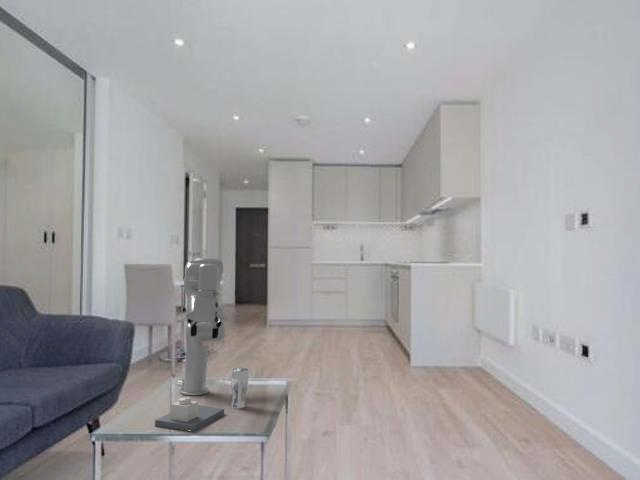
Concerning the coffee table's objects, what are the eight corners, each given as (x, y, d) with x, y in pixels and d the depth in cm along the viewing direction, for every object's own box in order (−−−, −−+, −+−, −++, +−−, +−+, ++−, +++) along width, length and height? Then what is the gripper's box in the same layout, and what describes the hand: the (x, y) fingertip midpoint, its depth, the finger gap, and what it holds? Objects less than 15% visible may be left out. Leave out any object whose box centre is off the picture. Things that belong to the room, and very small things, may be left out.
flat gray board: (154, 425, 157) (155, 409, 157) (190, 409, 178) (191, 394, 178) (192, 431, 152) (193, 415, 153) (224, 414, 173) (224, 399, 174)
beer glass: (239, 403, 188) (241, 367, 190) (250, 407, 184) (252, 369, 185) (226, 406, 183) (228, 369, 184) (237, 410, 179) (239, 371, 180)
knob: (170, 419, 158) (171, 399, 159) (181, 414, 164) (182, 395, 165) (186, 421, 156) (187, 402, 157) (196, 416, 163) (198, 397, 163)
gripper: (230, 295, 184) (227, 337, 183) (193, 293, 189) (190, 334, 188) (221, 296, 177) (218, 340, 176) (183, 293, 182) (180, 336, 181)
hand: (204, 336), depth 182 cm, fingers open, 9 cm apart
